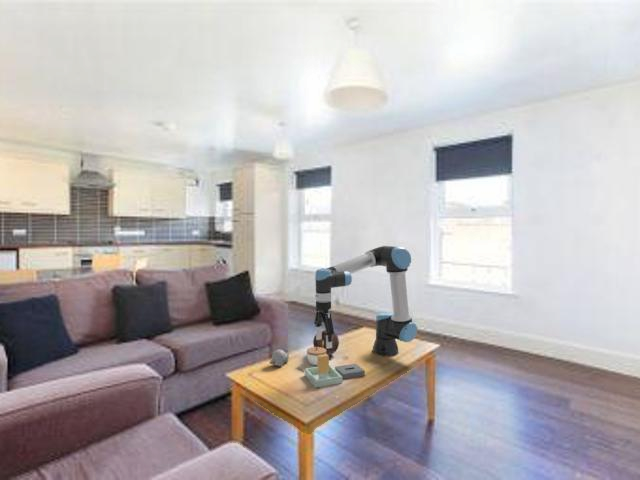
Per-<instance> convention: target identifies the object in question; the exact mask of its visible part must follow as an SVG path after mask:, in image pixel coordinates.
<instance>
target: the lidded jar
mask: <svg viewBox="0 0 640 480" xmlns="http://www.w3.org/2000/svg"><path fill="white" fill-rule="evenodd" d="M324 354H326V349H325V348H322V347H314V346H313V347H309V348H307V349H306V356H307V357H306V358H307V361H308V362H309V364H310V365H313V366H317V356H318V355H324Z"/></svg>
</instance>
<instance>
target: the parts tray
mask: <svg viewBox="0 0 640 480" xmlns="http://www.w3.org/2000/svg"><path fill="white" fill-rule="evenodd" d="M304 376H305V378H306V379H308V381H309V382H310V383H311V384H312V386H313V387H314V388H315V389H320V388H321V387H326V386H331V385H338V384H342V383H343V379H342V376H341V375H340V374H339V373H338V372H337V371H336V370H335V367H332V366H331V364H329V372H328V378H326V379H320V380H319V372H318V371H317V366H315V367H314V366H313V367H306V368H304Z"/></svg>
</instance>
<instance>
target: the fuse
mask: <svg viewBox="0 0 640 480" xmlns="http://www.w3.org/2000/svg"><path fill="white" fill-rule="evenodd" d="M329 365H330V355H329V356H328V355H327V354H324V355H318V356H317V365H316V367H317V371H318V372H319V380H320V379H326V378H328V372H329Z"/></svg>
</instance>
